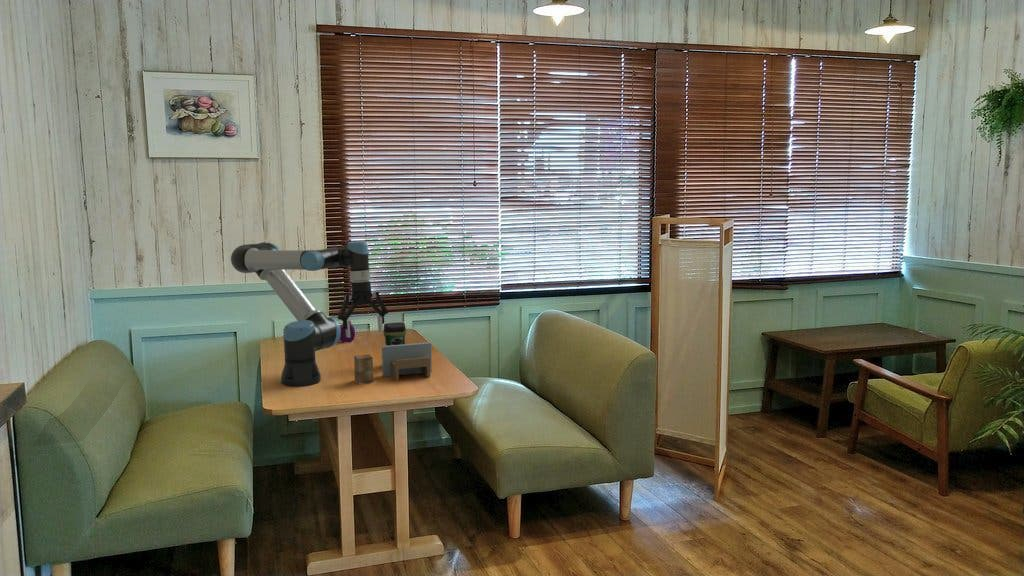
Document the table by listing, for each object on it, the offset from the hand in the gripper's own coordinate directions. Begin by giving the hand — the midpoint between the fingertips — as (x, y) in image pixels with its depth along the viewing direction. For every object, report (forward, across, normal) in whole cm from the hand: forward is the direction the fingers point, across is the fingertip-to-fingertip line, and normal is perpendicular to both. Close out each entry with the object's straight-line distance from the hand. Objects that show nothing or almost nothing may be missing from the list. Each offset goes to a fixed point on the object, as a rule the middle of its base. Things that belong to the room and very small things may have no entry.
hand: (364, 334), depth 308 cm
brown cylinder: (+18, -2, -2) cm, 18 cm away
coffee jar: (+18, +19, +17) cm, 31 cm away
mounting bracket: (+15, +16, +80) cm, 83 cm away
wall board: (+19, +17, -3) cm, 25 cm away
